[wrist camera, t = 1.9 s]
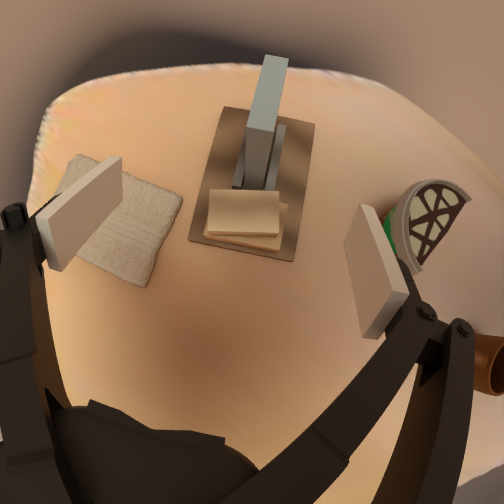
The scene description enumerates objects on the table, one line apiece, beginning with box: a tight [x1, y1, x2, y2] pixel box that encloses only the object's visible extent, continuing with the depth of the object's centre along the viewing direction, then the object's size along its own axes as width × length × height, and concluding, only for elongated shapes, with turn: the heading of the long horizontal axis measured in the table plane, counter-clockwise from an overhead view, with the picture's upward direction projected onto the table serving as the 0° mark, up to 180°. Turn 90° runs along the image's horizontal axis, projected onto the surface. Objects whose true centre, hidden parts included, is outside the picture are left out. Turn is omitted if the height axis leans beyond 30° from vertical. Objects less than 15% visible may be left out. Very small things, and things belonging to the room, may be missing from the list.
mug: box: [473, 334, 504, 396], centre depth 29 cm, size 12×8×9 cm, turn 68°
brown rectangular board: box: [188, 106, 315, 262], centre depth 34 cm, size 18×12×3 cm, turn 169°
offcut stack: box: [203, 189, 288, 253], centre depth 31 cm, size 5×8×5 cm
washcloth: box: [52, 154, 183, 288], centre depth 33 cm, size 12×18×3 cm, turn 67°
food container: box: [379, 179, 472, 276], centre depth 30 cm, size 12×6×10 cm, turn 133°
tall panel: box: [244, 55, 288, 191], centre depth 28 cm, size 8×2×14 cm, turn 169°
